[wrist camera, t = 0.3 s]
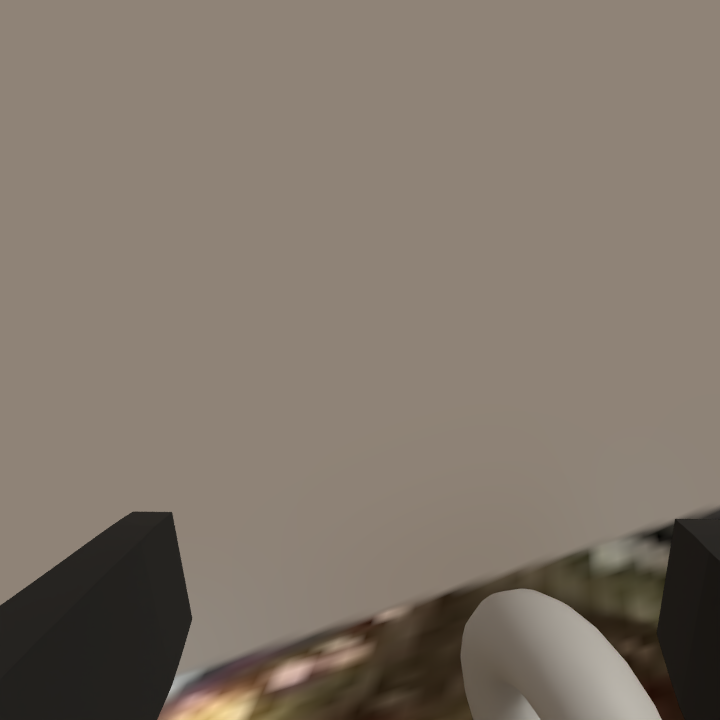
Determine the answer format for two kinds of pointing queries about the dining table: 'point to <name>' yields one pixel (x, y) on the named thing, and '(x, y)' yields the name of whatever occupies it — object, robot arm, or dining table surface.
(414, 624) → the dining table surface
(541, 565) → the dining table surface
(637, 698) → the donut
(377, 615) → the dining table surface
